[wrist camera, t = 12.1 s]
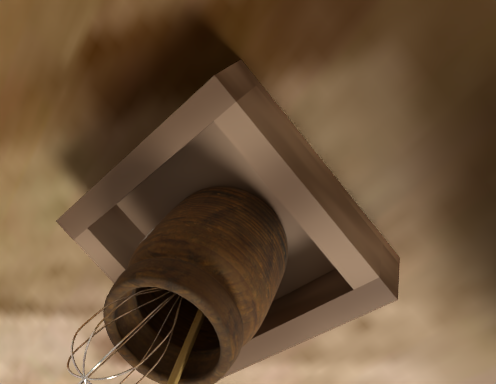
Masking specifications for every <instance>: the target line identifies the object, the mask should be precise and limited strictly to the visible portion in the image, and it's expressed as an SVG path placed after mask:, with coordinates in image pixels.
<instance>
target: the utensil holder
mask: <svg viewBox="0 0 496 384" xmlns="http://www.w3.org/2000/svg"><path fill="white" fill-rule="evenodd" d="M287 259H288V242H287V237H286V234H285V231H284V228H283V226H282V224H281V222H280V220H279V219H278V217H277V216H276V214H275V213H274V212H273V211H272V210H271V208H270V207H268V206H267V205H266V204H265V203H264V202H263V201H262V200H260V199H259V198H257V197H256V196H254V195H252V194H250V193H248V192H246V191H243V190H241V189H237V188H233V187H226V186H215V187H208V188H204V189H201V190H199V191H196V192H194V193H193V194H191V195H189V196H188V197H186V198H185V199H184V200H182V201H181V202H180V203H179V204H178V205H177V206H176V207H174V208H173V209H172V210H171V211H170V212H169V213H168V214H167V215H166V216H165V217H164V218H163V219H162V220H161V221H160V222H159V223H158V224H157V225H156V226H155V227H154V228H153V229H152V230H151V231H150V233H149V234H148V235H147V236H146V237H145V238H144V239H143V240H142V242H141V243H140V244H139V245H138V247H137V248H136V250H135V251H134V253H133V255H132V257H131V259H130V261H129V264H128V267H127V269H126V270H125V271H124V272H123V273H122V274H121V275H120V276H119V277H118V279H117V280H116V282H115V283H114V285H113V287H112V288H111V290H110V292H109V294H108V296H107V298H106V301H105V305H104V308H102V309H101V310H100V311H99V312H97V313H96V314H95V315H94V316H92V317H91V318H90V319H89V320H88V321H87V322H85V323H84V324H83V325H82V326H81V327H80V328H79V329H78V331H77V332H76V334H75V335H74V338H73V341H72V345H71V356H70V357H69V359H68V362H67V369H68V371H69V372H70V373H71V374H72V375H73V376H75V377H78V378H82V380H81V381H80V382H79V383H78V384H82V383H85V384H87V383H86V381H87V382H88V383H89V384H92V383H90V382H89V381H88V380H103V379H109V378H113V377H117V376H120V375H122V374H125V373H127V372H129V371H131V370H133V371H132V372H131V373H130V374H129V375H128V376H127V377H126V378H125V379H124V380H123V381H122V382H121V383H120V384H122V383H123V382H124V381H125V380H126V379H127V378H128V377H129V376H130V375H131V374H132V373H133V372H134V371H135V369H136V370H137V371H139V372H140V373H141V374H143V375H144V376H143V377H142V378H141V379H140V380H139V381H138V382H137V383H136V384H138V383H140V382H141V381H142V380H143V379H144V378H145V377H148V378H150V379H151V380H153V381H156V382H158V383H160V384H214V383H216V382H217V381H219V380H220V379H221V378H222V377H223V376H224V375H225V374H226V373H227V371H228V370H229V369H230V368H231V366H232V365H233V364H234V362H235V361H236V359H237V358H238V356H239V354H240V351H241V349H242V347H243V346H244V345H246V344H247V343H248V342H249V341H250V340H251V339H252V337H253V336H254V335H255V334H256V332H257V331H258V329H259V328H260V326H261V324H262V322H263V321H264V319H265V317H266V315H267V312H268V310H269V308H270V306H271V304H272V301H273V299H274V297H275V294H276V292H277V290H278V287H279V285H280V282H281V280H282V277H283V275H284V272H285V268H286V264H287ZM102 310H104V319H103V320H102V321H101V322H100V323H99V324H98V325H97V327H96V328H95V330H94V331H93V333H92V335H91V337H90V338H88V339H87V340H86V341H85V342H84V343H83V344H82V345H80V346H79V347H78V348H77V349H76V350H75V351H74V352H73V344H74V340H75V337H76V335H77V333H78V332H79V331H80V329H81V328H82V327H83V326H84V325H85V324H87V323H88V322H89V321H90V320H91V319H92V318H94V317H95V316H96V315H97V314H98V313H100V312H101V311H102ZM103 321H104V323H105V326H103V327H102V328H101V329H99V330H98V331H97V332H95V331H96V329H97V328H98V327H99V325H100V324H101V323H102V322H103ZM104 327H106V330H107V333H108V335H109V338H110V340H111V342H112V343H113V345H114V348H113V349H112V350H111V351H110V352H109V353H108V354H107V355H106V356H105V357H104V358H103V359H102V360H101V361H100V362H99V363H98V364H97V365H96V366H95V367H94V368H93V369H92V370H91V371H90V372H89V373H88V374H87V375H86V376H85V357H86V353H87V349H88V346H89V343H90V341H91V338H92V337H93V336H94V335H95V334H97V333H98V332H99V331H100V330H102V329H103V328H104ZM88 340H89V341H88ZM87 341H88V344H87V346H86V349H85V353H84V359H83V374H82V373H81V372H80V370H79V369H78V367H77V365H76V363H75V360H74V357H73V354H74V353H75V352H76V351H77V350H78V349H79V348H80V347H82V346H83V345H84V344H85V343H86V342H87ZM115 348H116V349H117V350H116V351H115V352H114V353H112V354H111V355H110V356H109V357H108V358H107V359H106V360H105V361H104V362H103V363H102V364H101V365H100V366H99V367H97V366H98V365H99V364H100V363H101V362H102V361H103V360H104V359H105V358H106V357H107V356H108V355H109V354H110V353H111V352H112V351H113V350H114V349H115ZM117 351H118V352H119V353H120V355H121V356H122V357H123V358H124V359H125V360H126V361H127V362H128V363H129V364H130V365H131V366H132V367H133V368H131V369H129V370H127V371H125V372H123V373H120V374H117V375H114V376H110V377H105V378H89V377H90V376H91V375H92V374H93V373H94V372H95V371H96V370H98V369H99V368H100V367H101V366H102V365H103V364H104V363H105V362H106V361H107V360H108V359H109V358H110V357H111V356H112V355H113V354H115V353H116V352H117ZM71 357H72V360H73V363H74V365H75V368H76V369H77V371H78V372H79V374H80V375H81V376H82V377H81V376H78V375H75V374H74V373H72V372H71V371H70V369H69V362H70V359H71ZM96 367H97V368H96ZM95 368H96V369H95ZM94 369H95V370H94ZM93 370H94V371H93ZM92 371H93V372H92ZM91 372H92V373H91ZM90 373H91V374H90ZM89 374H90V375H89ZM88 375H89V376H88ZM87 376H88V377H87ZM86 377H87V378H86Z"/></svg>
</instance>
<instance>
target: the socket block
mask: <svg viewBox="0 0 496 384" xmlns="http://www.w3.org/2000/svg"><path fill="white" fill-rule="evenodd" d="M215 186H226V187H233V188H237V189H241V190H243V191H246V192H248V193H250V194H252V195H254V196H256V197H257V198H259V199H260V200H262V201H263V202H264V203H265V204H266V205H267V206H268V207H270V208H271V210H272V211H273V212H274V213H275V214H276V216H277V217H278V219H279V220H280V222H281V224H282V226H283V228H284V231H285V234H286V237H287V242H288V259H287V264H286V268H285V272H284V275H283V277H282V280H281V282H280V285H279V287H278V290H277V292H276V294H275V297H274V299H273V301H272V304H271V306H270V308H269V310H268V312H267V315H266V317H265V319H264V321H263V322H262V324H261V326H260V328H259V329H258V331H257V332H256V334H255V335H254V336H253V337H252V339H251V340H250V341H249V342H248V343H247V344H246V345H244V346H243V347H242V349H241V351H240V354H239V356H238V358H237V359H236V361H235V362H234V364H233V365H232V366H231V368H230V369H229V370H228V371H227V373H226V374H225V375H224V376H223V377H222V378H224V377H226V376H228V375H230V374H233V373H235V372H237V371H239V370H242V369H244V368H246V367H248V366H251V365H253V364H255V363H257V362H260V361H262V360H264V359H266V358H269V357H271V356H273V355H275V354H277V353H280V352H282V351H284V350H286V349H289V348H291V347H293V346H295V345H298V344H300V343H302V342H304V341H307V340H309V339H311V338H313V337H316V336H318V335H320V334H322V333H325V332H327V331H329V330H331V329H334V328H336V327H338V326H340V325H343V324H345V323H347V322H349V321H352V320H354V319H356V318H358V317H360V316H363V315H365V314H367V313H369V312H372V311H374V310H376V309H378V308H381V307H383V306H385V305H387V304H390V303H392V302H394V301H396V300H398V284H399V263H400V258H399V256H398V255H397V254H396V253H395V251H394V250H393V249H392V248H391V246H390V245H389V244H388V243H387V241H386V240H385V239H384V238H383V236H382V235H381V234H380V233H379V231H378V230H377V229H376V228H375V226H374V225H373V224H372V223H371V221H370V220H369V219H368V218H367V216H366V215H365V214H364V213H363V211H362V210H361V209H360V207H359V206H358V205H357V204H356V202H355V201H354V200H353V199H352V197H351V196H350V195H349V194H348V192H347V191H346V190H345V189H344V187H343V186H342V185H341V184H340V182H339V181H338V180H337V179H336V177H335V176H334V175H333V174H332V172H331V171H330V170H329V169H328V167H327V166H326V165H325V164H324V162H323V161H322V160H321V159H320V157H319V156H318V155H317V154H316V152H315V151H314V150H313V149H312V147H311V146H310V145H309V144H308V142H307V141H306V140H305V139H304V137H303V136H302V135H301V134H300V132H299V131H298V130H297V129H296V127H295V126H294V125H293V124H292V122H291V121H290V120H289V119H288V117H287V116H286V115H285V114H284V112H283V111H282V110H281V109H280V107H279V106H278V105H277V104H276V102H275V101H274V100H273V99H272V97H271V96H270V95H269V94H268V92H267V91H266V90H265V89H264V87H263V86H262V85H261V84H260V82H259V81H258V80H257V79H256V77H255V76H254V75H253V74H252V72H251V71H250V70H249V69H248V67H247V66H246V65H245V64H244V62H243V61H242V60H239V61H238V62H236V63H234V64H233V65H231V66H229V67H227V68H226V69H224V70H222V71H221V72H219V73H217V74H216V75H214V76H213V77H212V78H211V79H210V80H209V81H208V82H206V83H205V84H204V85H203V86H202V87H201V88H200V89H199V90H198V91H197V92H196V93H194V94H193V95H192V96H191V97H190V98H189V99H188V100H187V101H186V102H185V103H184V104H183V105H181V106H180V107H179V108H178V109H177V110H176V111H175V112H174V113H173V114H172V115H171V116H169V117H168V118H167V119H166V120H165V121H164V122H163V123H162V124H161V125H160V126H159V127H158V128H156V129H155V130H154V131H153V132H152V133H151V134H150V135H149V136H148V137H147V138H146V139H144V140H143V141H142V142H141V143H140V144H139V145H138V146H137V147H136V148H135V149H134V150H132V151H131V152H130V153H129V154H128V155H127V156H126V157H125V158H124V159H123V160H122V161H121V162H119V163H118V164H117V165H116V166H115V167H114V168H113V169H112V170H111V171H110V172H109V173H107V174H106V175H105V176H104V177H103V178H102V179H101V180H100V181H99V182H98V183H97V184H96V185H94V186H93V187H92V188H91V189H90V190H89V191H88V192H87V193H86V194H85V195H84V196H82V197H81V198H80V199H79V200H78V201H77V202H76V203H75V204H74V205H73V206H72V207H70V208H69V209H68V210H67V211H66V212H65V213H64V214H63V215H62V216H61V217H60V218H59V219H57V220H56V222H57V223H58V224H59V225H60V226H61V227H62V228H63V229H64V230H65V232H66V233H67V234H68V235H69V236H70V237H71V238H72V239H73V240H74V241H75V242H76V243H77V244H78V245H79V247H80V248H81V249H82V250H83V251H84V252H85V253H86V254H87V255H88V256H89V257H90V258H91V259H92V260H93V262H94V263H95V264H96V265H97V266H98V267H99V268H100V269H101V270H102V271H103V272H104V273H105V274H106V275H107V277H108V278H109V279H110V280H111V281H112V282H113V283H115V282H116V280H117V279H118V277H119V276H120V275H121V274H122V273H123V272H124V271H125V270H126V269H127V267H128V264H129V261H130V259H131V257H132V255H133V253H134V251H135V250H136V248H137V247H138V245H139V244H140V243H141V242H142V240H143V239H144V238H145V237H146V236H147V235H148V234H149V233H150V231H151V230H152V229H153V228H154V227H155V226H156V225H157V224H158V223H159V222H160V221H161V220H162V219H163V218H164V217H165V216H166V215H167V214H168V213H169V212H170V211H171V210H172V209H173V208H174V207H176V206H177V205H178V204H179V203H180V202H181V201H182V200H184V199H185V198H186V197H188V196H189V195H191V194H193V193H194V192H196V191H199V190H201V189H204V188H208V187H215Z"/></svg>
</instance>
